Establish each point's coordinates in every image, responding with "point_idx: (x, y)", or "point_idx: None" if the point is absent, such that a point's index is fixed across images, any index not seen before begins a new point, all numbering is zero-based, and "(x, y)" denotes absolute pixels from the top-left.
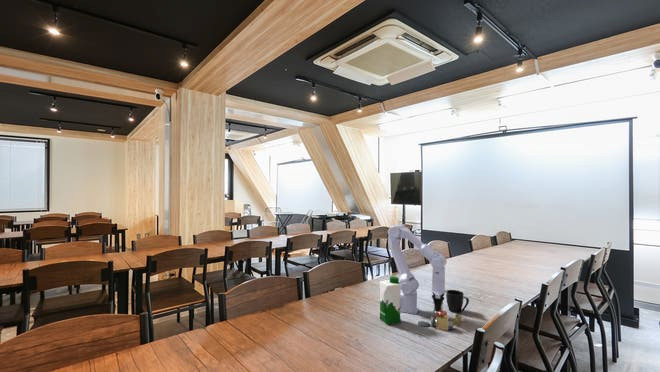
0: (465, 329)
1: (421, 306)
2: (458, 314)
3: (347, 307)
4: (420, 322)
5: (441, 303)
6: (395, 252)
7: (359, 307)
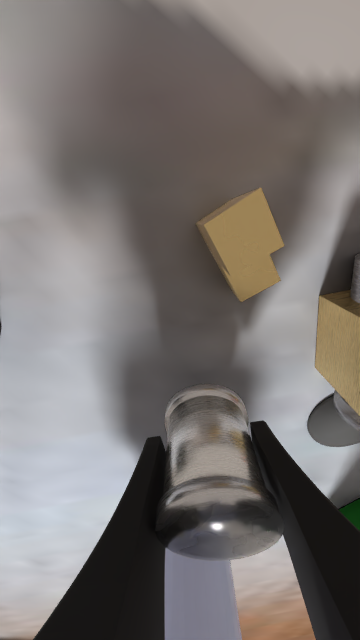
0: (334, 137)
1: (77, 480)
2: (216, 242)
3: (286, 607)
4: (334, 438)
5: (347, 521)
6: None
7: (266, 594)
